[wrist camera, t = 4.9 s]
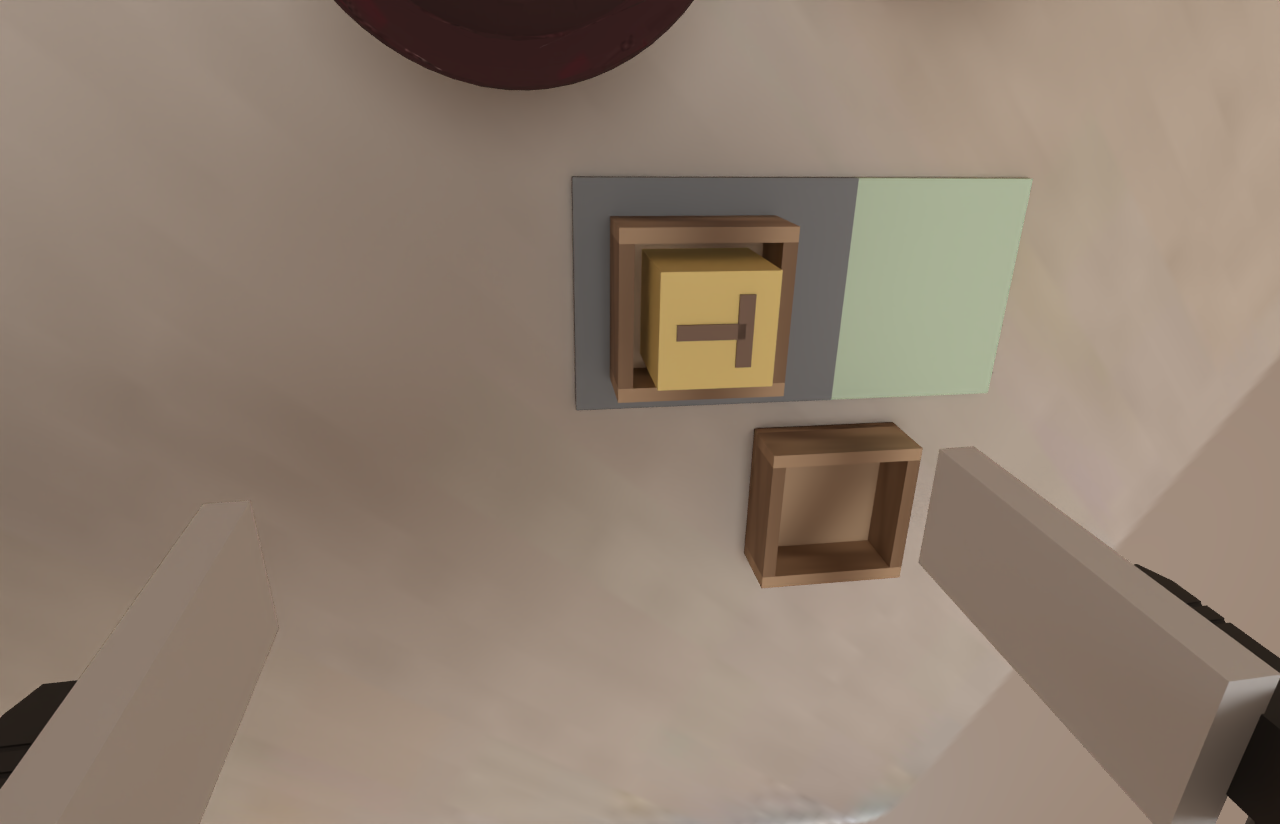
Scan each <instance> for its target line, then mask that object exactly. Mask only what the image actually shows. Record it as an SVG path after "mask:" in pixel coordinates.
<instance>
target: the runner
mask: <svg viewBox="0 0 1280 824" xmlns="http://www.w3.org/2000/svg"><path fill="white" fill-rule="evenodd" d="M1032 181H1033V179H1030V178H879V177H584V176H572V216H573V273H574V330H575V388H576V410H597V409H621V408H644V407H668V406H692V405H716V404H740V403H764V402H788V401H811V400H835V399H859V398H883V397H907V396H931V395H954V394H978V393H988V389H989V384H990V379H991V375H992V370H993V365H994V361H995V356H996V351H997V346H998V342H999V337H1000V332H1001V327H1002V323H1003V318H1004V313H1005V309H1006V304H1007V299H1008V294H1009V290H1010V285H1011V280H1012V275H1013V271H1014V266H1015V261H1016V257H1017V252H1018V247H1019V242H1020V238H1021V233H1022V228H1023V223H1024V219H1025V214H1026V209H1027V204H1028V200H1029V195H1030V190H1031V186H1032ZM730 215H776V216H778V217H780V218H783V219H785V220H787V221H789V222H791V223H793V224H796V225H798V226H800V234H799V244H798V254H797V264H796V274H795V285H794V295H793V305H792V315H791V325H790V336H789V346H788V356H787V366H786V376H785V386H784V396H776V397H752V398H727V399H703V400H678V401H654V402H629V403H618V401H617V398H616V395H615V392H614V389H613V386H612V383H611V380H610V216H730Z"/></svg>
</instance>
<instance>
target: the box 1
mask: <svg viewBox="0 0 1280 824" xmlns="http://www.w3.org/2000/svg"><path fill="white" fill-rule="evenodd" d="M799 234H800V226H798V225H796V224H793V223H791V222H789V221H787V220H785V219H783V218H780V217H778V216H776V215H730V216H610V380H611V383H612V386H613V389H614V392H615V395H616V398H617V401H618V403H629V402H654V401H678V400H703V399H727V398H752V397H776V396H784V386H785V376H786V366H787V356H788V346H789V336H790V325H791V315H792V305H793V295H794V285H795V274H796V264H797V254H798V244H799ZM677 248H749V249H751V250H752V251H754V252H755V253H757V254H758V255H760V256H761V257H763V258H764V259H766V260H768V261H769V262H771V263H772V264H774V265H775V266H777V267H778V268H780V269H781V270H783V274H782V285H781V296H780V307H779V318H778V329H777V340H776V351H775V362H774V373H773V384H772V386H766V387H741V388H715V389H689V390H663V391H658V390H657V388H656V386H655V384H654V382H653V380H652V378H651V376H650V374H649V372H648V369H647V367H646V365H645V363H644V361H643V359H642V357H641V355H640V318H641V262H642V249H677Z"/></svg>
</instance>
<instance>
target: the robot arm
mask: <svg viewBox="0 0 1280 824" xmlns="http://www.w3.org/2000/svg"><path fill="white" fill-rule="evenodd" d="M919 564H920V565H921V566H922V567H923V568H924V569H925V570H926V572H927V573H928V574H929V575H930V576H931V577H932V578H933V579H934V580H935V582H936V583H937V584H938V585H939V586H940V587H941V588H942V589H943V590H944V592H945V593H946V594H947V595H948V596H949V597H950V598H951V599H952V600H953V602H954V603H955V604H956V605H957V606H958V607H959V608H960V609H961V610H962V612H963V613H964V614H965V615H966V616H967V617H968V618H969V619H970V620H971V622H972V623H973V624H974V625H975V626H976V627H977V628H978V629H979V631H980V632H981V633H982V634H983V635H984V636H985V637H986V638H987V639H988V641H989V642H990V643H991V644H992V645H993V646H994V647H995V648H996V649H997V651H998V652H999V653H1000V654H1001V655H1002V656H1003V657H1004V658H1005V659H1006V661H1007V662H1008V663H1009V664H1010V665H1011V666H1012V667H1013V668H1014V669H1015V671H1016V672H1017V673H1018V674H1019V675H1020V676H1021V677H1022V678H1023V679H1024V680H1025V682H1026V683H1027V684H1028V685H1029V686H1030V687H1031V688H1032V689H1033V691H1034V692H1035V693H1036V694H1037V695H1038V696H1039V697H1040V698H1041V699H1042V700H1043V702H1044V703H1045V704H1046V705H1047V706H1048V707H1049V708H1050V709H1051V710H1052V712H1053V713H1054V714H1055V715H1056V716H1057V717H1058V718H1059V719H1060V721H1061V722H1062V723H1063V724H1064V725H1065V726H1066V727H1067V728H1068V729H1069V731H1070V732H1071V733H1072V734H1073V735H1074V736H1075V737H1076V738H1077V739H1078V741H1079V742H1080V743H1081V744H1082V745H1083V746H1084V747H1085V748H1086V749H1087V751H1088V752H1089V753H1090V754H1091V755H1092V756H1093V757H1094V758H1095V760H1096V761H1097V762H1098V763H1099V764H1100V765H1101V766H1102V767H1103V768H1104V770H1105V771H1106V772H1107V773H1108V774H1109V775H1110V776H1111V777H1112V778H1113V780H1114V781H1115V782H1116V783H1117V784H1118V785H1119V786H1120V787H1121V788H1122V790H1123V791H1124V792H1125V793H1126V794H1127V795H1128V796H1129V797H1130V798H1131V800H1132V801H1133V802H1134V803H1135V804H1136V805H1137V806H1138V807H1139V808H1140V810H1141V811H1142V812H1143V813H1144V814H1145V815H1146V816H1147V817H1148V819H1149V820H1150V821H1151V822H1152V823H1153V824H1215V823H1216V821H1217V819H1218V816H1219V814H1220V812H1221V810H1222V807H1223V805H1224V803H1225V801H1226V798H1227V796H1229V798H1230V799H1232V800H1233V801H1234V802H1235V803H1236V804H1237V805H1238V806H1239V807H1240V808H1241V809H1242V810H1243V811H1244V812H1245V813H1246V814H1247V815H1248V819H1247V821H1246V823H1245V824H1280V658H1279V657H1277V656H1276V655H1274V654H1273V653H1272V652H1270V651H1269V650H1268V649H1266V648H1265V647H1263V646H1262V645H1261V644H1259V643H1258V642H1256V641H1255V640H1254V639H1252V638H1251V637H1250V636H1248V635H1247V634H1245V633H1244V632H1243V631H1241V630H1240V629H1238V628H1237V627H1236V626H1234V625H1233V624H1231V623H1225V621H1224V618H1223V617H1222V616H1220V615H1219V614H1218V613H1216V612H1215V611H1214V610H1212V609H1211V608H1209V607H1208V606H1202V605H1201V601H1199V600H1198V599H1197V598H1196V597H1194V596H1193V595H1191V594H1190V593H1189V592H1187V591H1186V590H1184V589H1183V588H1181V587H1180V586H1179V585H1178V584H1176V583H1175V582H1173V581H1172V580H1170V579H1167V578H1165V577H1163V576H1161V575H1159V574H1157V573H1155V572H1153V571H1151V570H1148V569H1146V568H1144V567H1142V566H1140V565H1138V564H1134V565H1133V564H1132V563H1130V562H1129V561H1128V560H1126V559H1125V558H1124V557H1122V556H1121V555H1119V554H1118V553H1117V552H1116V551H1114V550H1113V549H1112V548H1110V547H1109V546H1107V545H1106V544H1105V543H1103V542H1102V541H1101V540H1099V539H1098V538H1097V537H1095V536H1094V535H1093V534H1091V533H1090V532H1089V531H1087V530H1086V529H1085V528H1083V527H1082V526H1080V525H1079V524H1078V523H1076V522H1075V521H1074V520H1072V519H1071V518H1070V517H1068V516H1067V515H1066V514H1064V513H1063V512H1062V511H1060V510H1059V509H1058V508H1056V507H1055V506H1053V505H1052V504H1051V503H1049V502H1048V501H1047V500H1045V499H1044V498H1043V497H1041V496H1040V495H1039V494H1037V493H1036V492H1035V491H1033V490H1032V489H1031V488H1029V487H1028V486H1027V485H1025V484H1024V483H1022V482H1021V481H1020V480H1018V479H1017V478H1016V477H1014V476H1013V475H1012V474H1010V473H1009V472H1008V471H1006V470H1005V469H1004V468H1002V467H1001V466H1000V465H998V464H997V463H995V462H994V461H993V460H991V459H990V458H989V457H987V456H986V455H985V454H983V453H982V452H981V451H979V450H978V449H977V448H975V447H974V446H973V447H959V448H946V449H939V455H938V460H937V465H936V471H935V476H934V482H933V487H932V492H931V498H930V503H929V509H928V514H927V519H926V525H925V530H924V536H923V541H922V546H921V552H920V557H919ZM278 629H279V625H278V621H277V616H276V612H275V608H274V603H273V599H272V594H271V590H270V585H269V581H268V576H267V572H266V567H265V563H264V558H263V554H262V549H261V545H260V541H259V536H258V532H257V527H256V523H255V518H254V514H253V509H252V505H251V500H248V501H235V502H221V503H208V504H203V505H202V506H201V508H200V509H199V510H198V512H197V513H196V515H195V516H194V517H193V519H192V520H191V522H190V523H189V525H188V526H187V527H186V529H185V530H184V532H183V533H182V534H181V536H180V537H179V539H178V540H177V541H176V543H175V544H174V546H173V547H172V548H171V550H170V551H169V553H168V554H167V555H166V557H165V558H164V560H163V561H162V563H161V564H160V565H159V567H158V568H157V570H156V571H155V572H154V574H153V575H152V577H151V578H150V579H149V581H148V582H147V584H146V585H145V586H144V588H143V589H142V591H141V592H140V593H139V595H138V596H137V598H136V599H135V601H134V602H133V603H132V605H131V606H130V608H129V609H128V610H127V612H126V613H125V615H124V616H123V617H122V619H121V620H120V622H119V623H118V624H117V626H116V627H115V629H114V630H113V631H112V633H111V634H110V636H109V637H108V639H107V640H106V641H105V643H104V644H103V646H102V647H101V648H100V650H99V651H98V653H97V654H96V655H95V657H94V658H93V660H92V661H91V662H90V664H89V665H88V667H87V668H86V669H85V671H84V672H83V674H82V675H81V677H80V678H79V679H78V680H76V681H67V682H58V683H49V684H43V685H41V686H40V687H39V688H37V689H36V690H35V691H33V692H32V693H31V694H30V695H28V696H27V697H26V698H24V699H23V700H22V701H20V702H19V703H18V704H17V705H15V706H14V707H13V708H11V709H10V710H9V711H7V712H6V713H5V714H4V715H2V717H1V718H0V824H200V821H201V819H202V816H203V814H204V811H205V809H206V806H207V804H208V801H209V799H210V797H211V794H212V792H213V789H214V787H215V784H216V782H217V779H218V777H219V774H220V772H221V769H222V767H223V764H224V762H225V759H226V757H227V755H228V752H229V750H230V747H231V745H232V742H233V740H234V737H235V735H236V732H237V730H238V727H239V725H240V722H241V720H242V717H243V715H244V713H245V710H246V708H247V705H248V703H249V700H250V698H251V695H252V693H253V690H254V688H255V685H256V683H257V680H258V678H259V675H260V673H261V671H262V668H263V666H264V663H265V661H266V658H267V656H268V653H269V651H270V648H271V646H272V643H273V641H274V638H275V636H276V634H277V631H278Z"/></svg>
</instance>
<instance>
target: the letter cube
mask: <svg viewBox="0 0 1280 824" xmlns="http://www.w3.org/2000/svg"><path fill="white" fill-rule="evenodd" d="M782 274H783V270H781V269H780V268H778V267H777V266H775V265H774V264H772V263H771V262H769V261H768V260H766V259H764V258H763V257H761V256H760V255H758V254H757V253H755V252H754V251H752V250H751V249H749V248H677V249H642V262H641V318H640V355H641V357H642V359H643V361H644V363H645V365H646V367H647V369H648V372H649V374H650V376H651V378H652V380H653V382H654V384H655V386H656V388H657V390H658V391H663V390H689V389H715V388H741V387H766V386H772V384H773V373H774V362H775V351H776V340H777V329H778V318H779V307H780V296H781V285H782Z"/></svg>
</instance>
